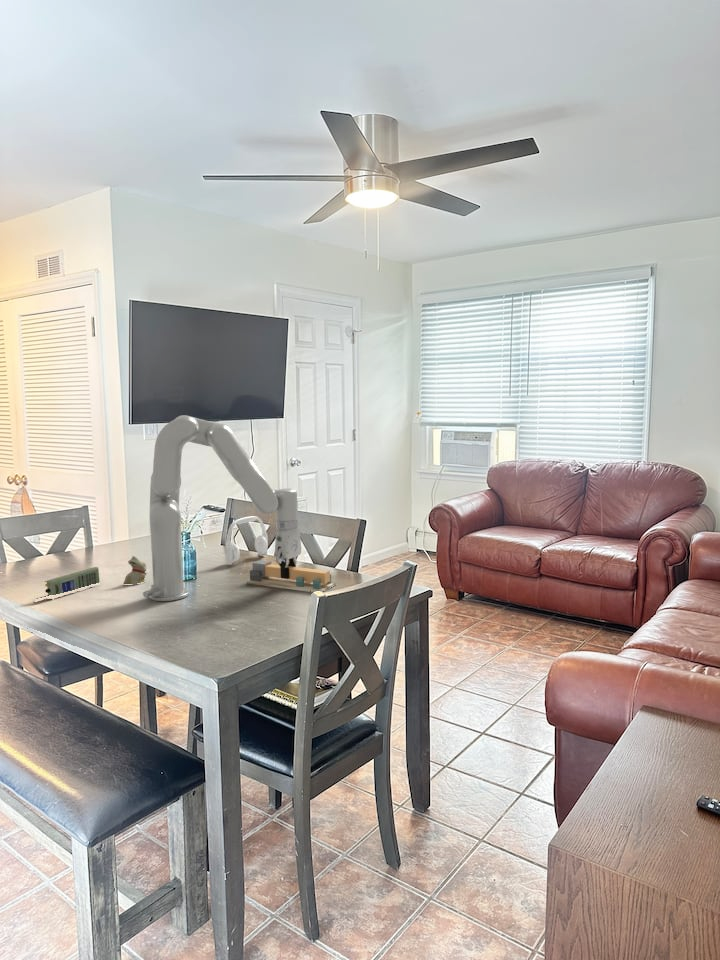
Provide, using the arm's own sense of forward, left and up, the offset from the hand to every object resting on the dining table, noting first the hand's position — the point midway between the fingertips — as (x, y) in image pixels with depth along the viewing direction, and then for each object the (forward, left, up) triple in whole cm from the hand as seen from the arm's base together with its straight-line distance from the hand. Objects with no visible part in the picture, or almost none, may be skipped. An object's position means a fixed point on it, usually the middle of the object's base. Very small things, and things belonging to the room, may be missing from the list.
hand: (288, 576), depth 229 cm
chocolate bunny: (-21, +51, -3) cm, 55 cm away
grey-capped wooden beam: (0, -1, 0) cm, 1 cm away
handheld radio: (-40, +62, -3) cm, 74 cm away
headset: (+22, +34, -3) cm, 40 cm away
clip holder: (0, -1, -3) cm, 3 cm away
